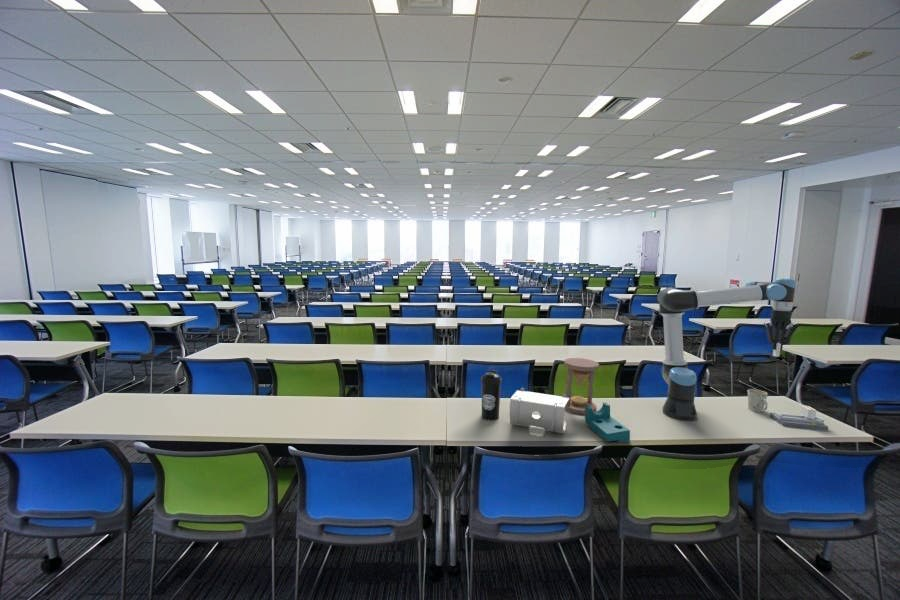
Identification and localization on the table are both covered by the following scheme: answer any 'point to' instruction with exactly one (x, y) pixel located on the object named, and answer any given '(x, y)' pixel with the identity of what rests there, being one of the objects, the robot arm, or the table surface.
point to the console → (799, 421)
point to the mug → (757, 400)
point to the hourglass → (581, 373)
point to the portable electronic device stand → (542, 403)
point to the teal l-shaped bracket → (606, 424)
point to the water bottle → (491, 395)
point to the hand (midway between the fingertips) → (776, 356)
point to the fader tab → (808, 412)
